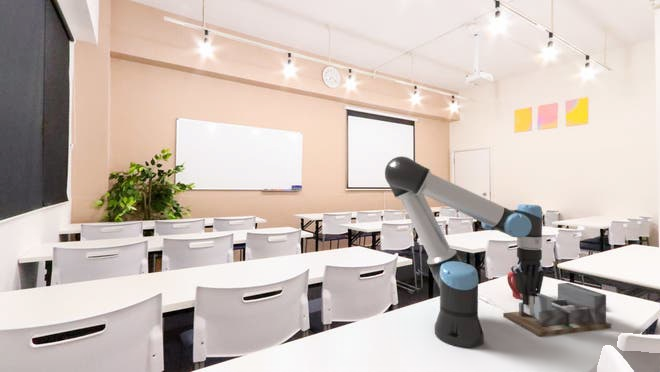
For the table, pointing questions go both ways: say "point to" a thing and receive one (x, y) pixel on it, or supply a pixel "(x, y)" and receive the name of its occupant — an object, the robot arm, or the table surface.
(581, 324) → the grey block structure
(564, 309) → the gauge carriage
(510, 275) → the mug
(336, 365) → the table surface
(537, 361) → the table surface
